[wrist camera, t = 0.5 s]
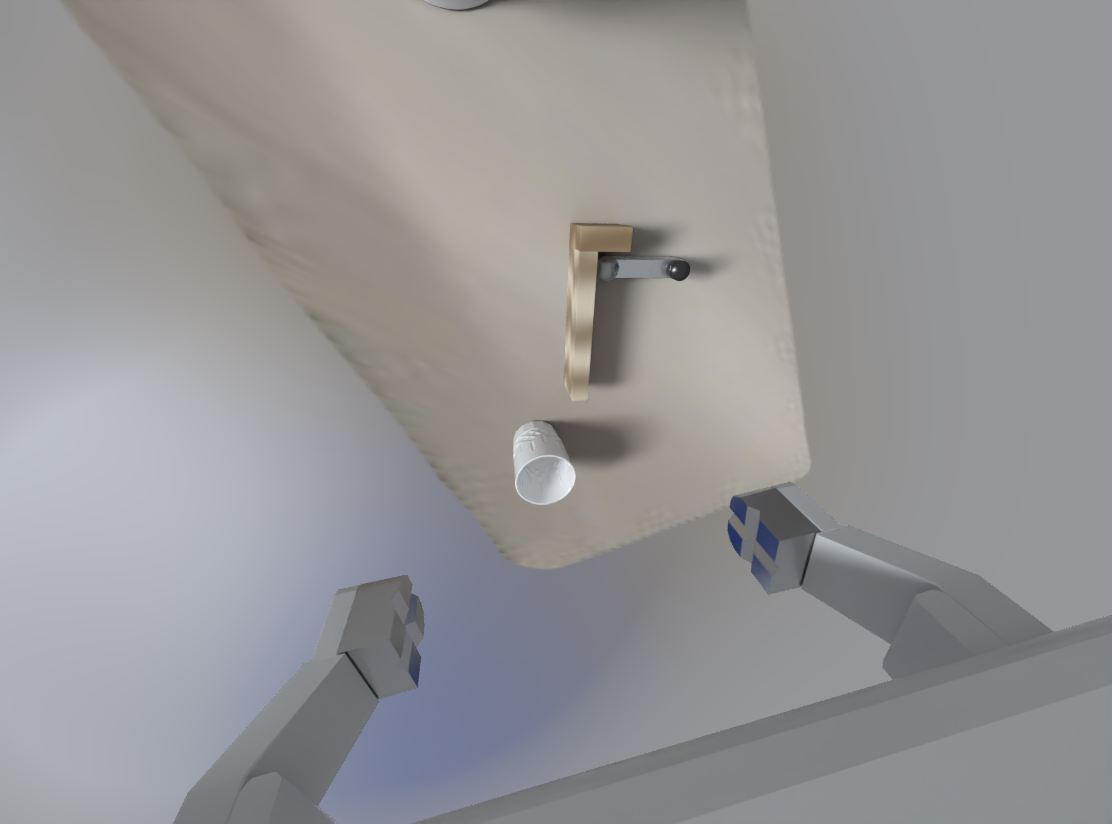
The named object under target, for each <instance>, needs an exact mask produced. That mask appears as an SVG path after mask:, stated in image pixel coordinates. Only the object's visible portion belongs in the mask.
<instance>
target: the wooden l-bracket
mask: <svg viewBox="0 0 1112 824" xmlns="http://www.w3.org/2000/svg"><path fill="white" fill-rule="evenodd" d="M632 233H633V227H630V226H624V225H619V224H588V223H570V247H569V271H568V296H567V320H566V345H565V369H564V385H565V387H566V389H567V391H568V393H569V395H570V397H571V399H572V401H580V400H587V398H588V385H589V371H590V357H591V355H592V341H593V328H594V326H593V316H594V302H595V288H596V274H597V261H598V252H631V243H632Z"/></svg>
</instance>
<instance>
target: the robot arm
mask: <svg viewBox="0 0 1112 824" xmlns="http://www.w3.org/2000/svg"><path fill="white" fill-rule="evenodd" d="M424 1H426V2H428V3H430V4H432V5H435V6H438V7H442V8H447V9H468V8H472V7H476V6H479V5H481V4H483V3H485V2H487V1H488V0H424ZM730 509H731V510H732V511H733V512H734V514H733V515H732V516H731V518H730V519H729V520H728V534H729V538H730V541H731V543H732V545H733V547H734V549H735V551H736V552H737V553H738V555H739V556H740V557H741V558H743V559H745V560H747V561H749V562H751V572H752V574H753V575H754V576H755V577H756V579H757V580H758V582H759V583H760V584H761V586H762V587H763V588H764V590H765V591H766V592H767V594H772V593H777V592H781V591H785V590H790V589H794V588H798V587H802V589H803V590H804V591H806V592H808V593H809V594H811V595H812V596H814V597H816V598H817V599H819V600H820V601H822V602H824V603H825V604H827V605H828V606H830V607H832V608H833V609H835V610H837V611H838V612H840V613H841V614H843V615H845V616H846V617H848V618H849V619H851V620H853V621H854V622H856V623H858V624H859V625H861V626H862V627H864V628H865V629H867V630H869V631H870V632H872V633H873V634H875V635H877V636H878V637H880V638H881V639H883V640H885V641H886V642H888V643H889V644H891V645H890V647H889V650H888V652H887V654H886V656H885V657H884V660H883V669H884V670H885V671H886V672H887V673H888V674H889V676H890V677H891V678H892V679H893V680H891V681H888V682H884V683H881V684H877V685H874V686H871V687H867V688H864V689H861V690H857V691H854V692H851V693H847V694H844V695H841V696H837V697H834V698H830V699H827V700H824V701H820V702H817V703H814V704H811V705H807V706H803V707H800V708H797V709H793V710H790V711H787V712H784V713H780V714H777V715H773V716H770V717H766V718H763V719H760V720H756V721H753V722H750V723H747V724H743V725H740V726H736V727H733V728H730V729H726V730H723V731H720V732H716V733H713V734H709V735H706V736H703V737H699V738H696V739H693V740H689V741H686V742H682V743H679V744H676V745H673V746H669V747H666V748H662V749H659V750H656V751H652V752H649V753H645V754H643V755H639V756H635V757H632V758H629V759H625V760H622V761H619V762H615V763H612V764H608V765H605V766H602V767H599V768H595V769H592V770H588V771H585V772H582V773H578V774H575V775H571V776H568V777H565V778H562V779H558V780H555V781H551V782H548V783H545V784H541V785H538V786H535V787H531V788H528V789H525V790H521V791H518V792H514V793H511V794H508V795H505V796H501V797H498V798H494V799H491V800H488V801H484V802H481V803H478V804H474V805H471V806H467V807H464V808H461V809H458V810H454V811H451V812H447V813H444V814H441V815H437V816H434V817H431V818H427V819H424V820H421V821H417V822H414V823H410V824H1112V615H1110V616H1106V617H1103V618H1100V619H1096V620H1093V621H1089V622H1086V623H1083V624H1079V625H1076V626H1073V627H1069V628H1066V629H1062V630H1059V631H1056V632H1054V631H1052V630H1051V629H1050V628H1048V627H1047V626H1046V625H1044V624H1043V623H1042V622H1040V621H1039V620H1038V619H1036V618H1035V617H1034V616H1032V615H1031V614H1030V613H1028V612H1027V611H1026V610H1024V609H1023V608H1022V607H1020V606H1019V605H1018V604H1016V603H1015V602H1014V601H1012V600H1011V599H1010V598H1008V597H1007V596H1006V595H1004V594H1003V593H1002V592H1000V591H999V590H998V589H996V588H995V587H994V586H992V585H991V584H990V583H988V582H987V581H986V580H985V579H983V578H982V577H981V576H979V575H977V574H974V573H972V572H969V571H966V570H964V569H961V568H959V567H956V566H953V565H951V564H948V563H946V562H943V561H940V560H938V559H935V558H932V557H930V556H927V555H924V554H922V553H920V552H917V551H914V550H911V549H909V548H907V547H904V546H901V545H899V544H896V543H893V542H891V541H888V540H885V539H883V538H881V537H878V536H875V535H873V534H870V533H867V532H865V531H862V530H860V529H857V528H854V527H852V526H849V525H848V526H844V527H843V526H842V525H840V524H839V523H838V522H837V521H836V520H835V519H834V518H833V517H832V516H830V515H829V514H828V513H827V512H826V511H825V510H824V509H823V508H821V507H820V506H819V505H818V504H817V503H816V502H815V501H814V500H812V499H811V498H810V497H809V496H808V495H807V494H806V493H805V492H803V491H802V490H801V489H800V488H799V487H798V486H797V485H795V484H793V483H791V482H788V483H784V484H780V485H776V486H772V487H767V488H763V489H759V490H755V491H751V492H747V493H743V494H739V495H735V496H733V497H732V499H731V501H730ZM411 590H412V583H411V581H410V580H409V577H408V576H407V575H403V576H398V577H393V578H389V579H384V580H380V581H375V582H370V583H365V584H361V585H357V586H353V587H348V588H344V589H339V590H338V591H337V593H336V594H335V595H334V596H333V599H332V602H331V605H330V608H329V610H328V613H327V616H326V619H325V622H324V625H323V628H322V630H321V633H320V636H319V639H318V642H317V645H316V648H315V651H314V653H313V657H312V659H311V662H308V663H305V664H303V665H302V666H301V667H300V668H299V669H298V670H297V672H296V673H295V674H294V675H293V676H292V677H291V678H290V679H289V680H288V682H287V683H286V684H285V685H284V686H283V687H282V688H281V689H280V690H279V692H278V693H277V694H276V695H275V696H274V697H273V698H272V699H271V701H270V702H269V703H268V704H267V705H266V706H265V707H264V708H263V710H262V711H261V712H260V713H259V714H258V715H257V716H256V717H255V718H254V720H253V721H252V722H251V723H250V724H249V725H248V726H247V727H246V729H245V730H244V731H243V732H242V733H241V734H240V735H239V736H238V738H237V739H236V740H235V741H234V742H233V743H232V744H231V745H230V746H229V748H228V749H227V750H226V751H225V752H224V753H223V754H222V755H221V756H220V758H219V759H218V760H217V761H216V762H215V763H214V764H213V765H212V767H211V768H210V769H209V770H208V771H207V772H206V773H205V774H204V776H203V777H202V778H201V779H200V780H199V781H198V782H197V783H196V785H195V786H194V787H193V788H192V789H191V790H190V791H189V792H188V794H187V796H186V798H185V800H184V802H183V804H182V806H181V808H180V811H179V813H178V815H177V817H176V819H175V821H174V823H173V824H337V823H336V822H335V820H334V819H333V818H331V817H330V816H329V815H328V814H327V813H325V812H324V811H323V810H322V809H321V808H320V807H318V805H319V803H320V802H321V800H322V798H323V797H324V795H325V793H326V791H327V790H328V788H329V786H330V785H331V783H332V781H333V779H334V778H335V776H336V774H337V773H338V771H339V769H340V768H341V765H342V764H343V762H344V761H345V759H346V757H347V756H348V754H349V752H350V750H351V749H352V747H353V745H354V744H355V742H356V740H357V738H358V737H359V735H360V733H361V732H362V730H363V728H364V727H365V725H366V723H367V721H368V720H369V718H370V716H371V715H372V713H373V711H374V709H375V708H376V706H377V704H378V702H379V701H378V700H379V699H382V698H385V697H389V696H392V695H395V694H399V693H402V692H406V691H409V690H412V689H416V688H418V681H419V671H420V663H421V656H420V654H419V652H418V650H417V648H416V647H417V646H418V645H419V643H420V642H421V640H422V639H423V636H424V612H423V608H422V604H421V602H420V599H419V597H418V596H416V595H414V594H412V593H411Z"/></svg>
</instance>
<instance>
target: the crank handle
mask: <svg viewBox="0 0 1112 824" xmlns="http://www.w3.org/2000/svg"><path fill="white" fill-rule="evenodd" d="M689 273H690V266H689V264H688V263H687V262H685V260H683V259H679V258H676V257H672V256H609V255H607V254H605V253H602V252H598V261H597V274H596V277H597V278H599V279H600V280H602V281H606V282H607V281H611V280H613V279H614V278H672V279H675V280H677V281H682V280H684V279H686V278H687V276H688V275H689Z"/></svg>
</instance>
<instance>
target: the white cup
mask: <svg viewBox="0 0 1112 824" xmlns="http://www.w3.org/2000/svg"><path fill="white" fill-rule="evenodd" d="M513 446H514V452H513V457H514V472H515V485H516V489H517V492H518V493H519V495H520V496H521V497H522V498H523V499H524V500H526V501H528V502H530V503H533V504H540V505H544V504H551V503H554V502H557V501H559V500H561V499H562V498H564V497H565V496H566V495H568V494H569V492H570V491H571V490H572V488H573V487H574V484H575V481H576V472H575V469H574V467H573V465H572V463H571V460H570V458H569V456H568V454H567V451H566V449H565V447H564V445H563V443H562V441H561V439H560V438H559V436H558V434H557V432H556V431H555V429H554V428H553V427H552V425H550V424H548V423H546V422H543V421H531V422H529V423H526V424H524V425H522V426H521V427H520V428H519V429H518V430H517V431H516V433H515V436H514V439H513Z"/></svg>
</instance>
